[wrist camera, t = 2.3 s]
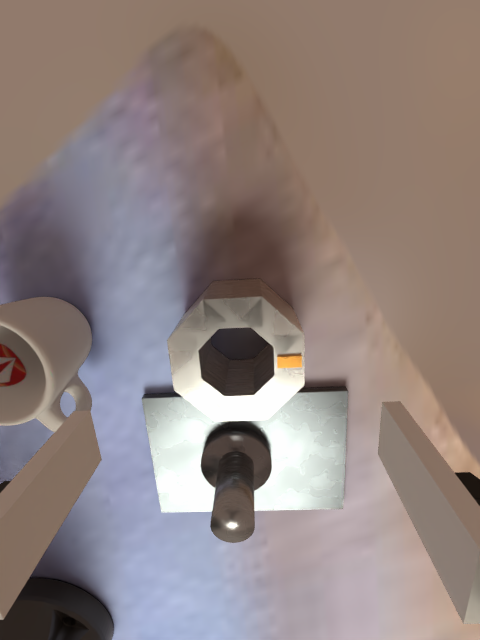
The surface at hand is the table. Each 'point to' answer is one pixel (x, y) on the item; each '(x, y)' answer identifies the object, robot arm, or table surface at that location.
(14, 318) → the cup
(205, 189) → the table surface
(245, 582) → the table surface
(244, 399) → the ring
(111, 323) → the table surface
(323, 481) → the plate with peg
